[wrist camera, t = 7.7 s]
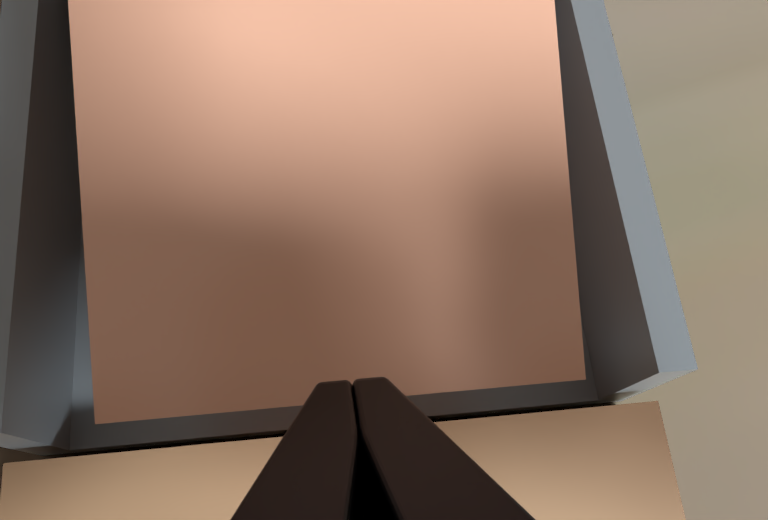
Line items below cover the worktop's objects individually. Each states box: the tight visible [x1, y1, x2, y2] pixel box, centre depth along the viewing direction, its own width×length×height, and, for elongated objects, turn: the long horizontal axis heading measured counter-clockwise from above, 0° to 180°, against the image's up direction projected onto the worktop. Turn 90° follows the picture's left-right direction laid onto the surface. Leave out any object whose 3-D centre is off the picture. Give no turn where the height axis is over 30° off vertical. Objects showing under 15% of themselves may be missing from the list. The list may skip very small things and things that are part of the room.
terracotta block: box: [68, 0, 586, 424], centre depth 14 cm, size 7×7×10 cm
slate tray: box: [0, 0, 698, 456], centre depth 17 cm, size 12×14×4 cm
